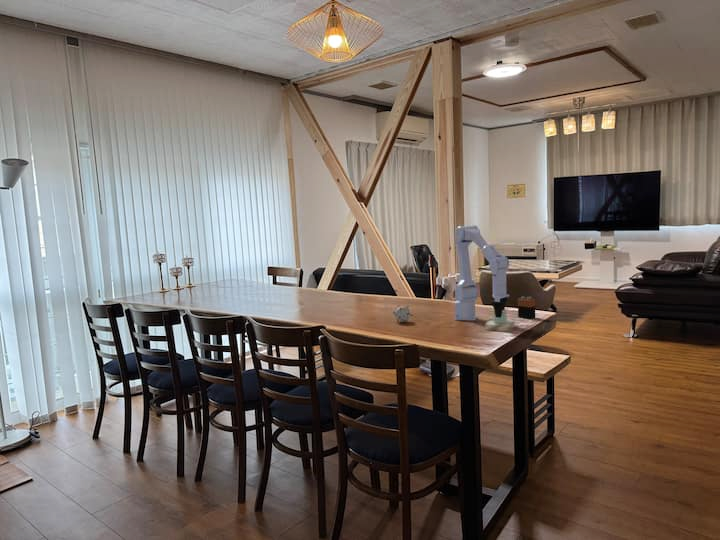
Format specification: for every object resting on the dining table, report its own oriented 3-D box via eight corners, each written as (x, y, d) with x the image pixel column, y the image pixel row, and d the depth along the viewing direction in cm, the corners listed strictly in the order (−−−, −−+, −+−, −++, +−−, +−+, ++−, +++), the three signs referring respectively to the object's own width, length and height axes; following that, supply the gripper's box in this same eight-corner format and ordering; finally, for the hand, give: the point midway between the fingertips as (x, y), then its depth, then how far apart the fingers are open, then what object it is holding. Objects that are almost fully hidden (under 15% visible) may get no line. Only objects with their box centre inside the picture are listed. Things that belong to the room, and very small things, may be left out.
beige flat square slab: (485, 331, 216) (484, 324, 216) (489, 325, 226) (489, 319, 226) (511, 332, 212) (511, 325, 212) (514, 326, 222) (514, 320, 222)
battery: (530, 319, 232) (529, 298, 231) (517, 317, 238) (517, 296, 237) (535, 318, 235) (535, 296, 234) (523, 316, 240) (523, 295, 239)
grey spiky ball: (406, 329, 240) (418, 312, 240) (400, 326, 233) (413, 309, 232) (392, 318, 244) (404, 301, 244) (386, 316, 237) (398, 298, 236)
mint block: (494, 323, 218) (493, 311, 217) (495, 320, 222) (495, 309, 221) (505, 323, 216) (504, 312, 215) (506, 321, 220) (506, 310, 219)
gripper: (506, 287, 209) (507, 319, 210) (511, 282, 222) (511, 312, 223) (489, 286, 211) (490, 318, 213) (494, 282, 225) (495, 311, 226)
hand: (499, 315), depth 218 cm, fingers open, 7 cm apart
